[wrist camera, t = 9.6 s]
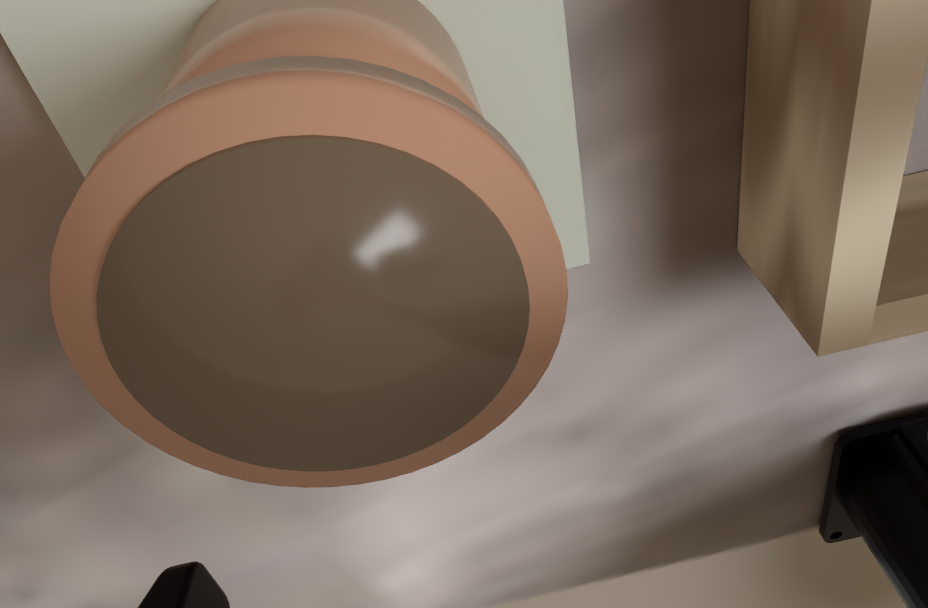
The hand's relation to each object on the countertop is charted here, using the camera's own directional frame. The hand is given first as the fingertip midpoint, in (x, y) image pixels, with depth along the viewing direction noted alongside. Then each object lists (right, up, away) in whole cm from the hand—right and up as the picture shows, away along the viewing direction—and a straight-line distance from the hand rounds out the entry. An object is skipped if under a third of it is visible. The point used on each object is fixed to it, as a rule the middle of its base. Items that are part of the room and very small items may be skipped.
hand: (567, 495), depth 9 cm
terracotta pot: (-4, +6, +7) cm, 11 cm away
